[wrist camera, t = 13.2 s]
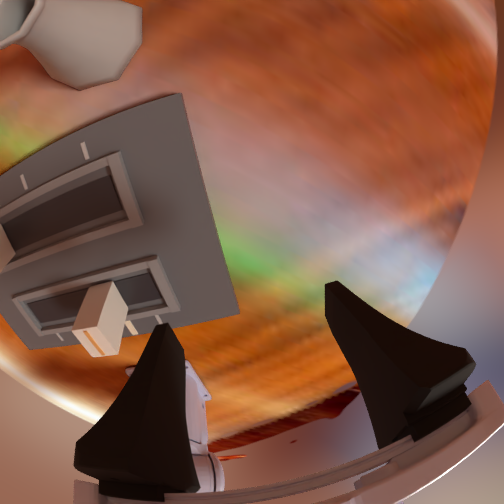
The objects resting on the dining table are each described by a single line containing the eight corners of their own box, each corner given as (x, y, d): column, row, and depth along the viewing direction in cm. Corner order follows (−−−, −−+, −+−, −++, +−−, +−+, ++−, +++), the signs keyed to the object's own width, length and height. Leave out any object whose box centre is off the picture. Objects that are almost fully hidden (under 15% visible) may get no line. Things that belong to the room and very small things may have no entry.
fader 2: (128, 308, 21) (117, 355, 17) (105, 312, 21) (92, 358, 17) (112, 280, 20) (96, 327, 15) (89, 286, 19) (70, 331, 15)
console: (238, 304, 25) (240, 318, 23) (32, 342, 24) (28, 353, 22) (181, 93, 15) (179, 92, 13) (-45, 213, 14) (-55, 221, 12)
